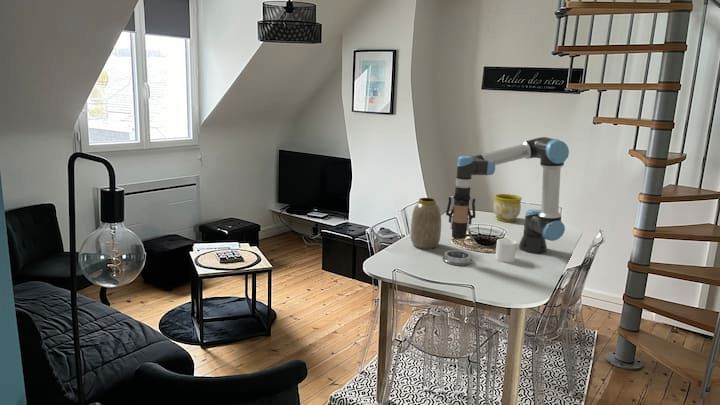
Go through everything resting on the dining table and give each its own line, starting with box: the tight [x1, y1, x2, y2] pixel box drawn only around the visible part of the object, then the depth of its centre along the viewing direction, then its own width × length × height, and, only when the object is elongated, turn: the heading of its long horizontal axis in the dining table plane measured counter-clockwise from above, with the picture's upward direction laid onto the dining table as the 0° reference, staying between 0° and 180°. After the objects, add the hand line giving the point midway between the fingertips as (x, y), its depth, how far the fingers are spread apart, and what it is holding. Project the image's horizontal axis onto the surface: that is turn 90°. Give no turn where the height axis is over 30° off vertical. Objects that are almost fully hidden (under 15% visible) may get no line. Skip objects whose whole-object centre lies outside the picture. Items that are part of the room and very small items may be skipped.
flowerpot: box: [493, 193, 522, 223], centre depth 362 cm, size 18×18×16 cm
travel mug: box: [451, 199, 470, 240], centre depth 272 cm, size 8×8×20 cm
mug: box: [494, 238, 517, 264], centre depth 281 cm, size 13×10×10 cm
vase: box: [410, 197, 442, 250], centre depth 299 cm, size 17×17×27 cm
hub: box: [442, 249, 473, 267], centre depth 277 cm, size 15×15×4 cm
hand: (459, 229), depth 273 cm, fingers closed on travel mug, 8 cm apart
